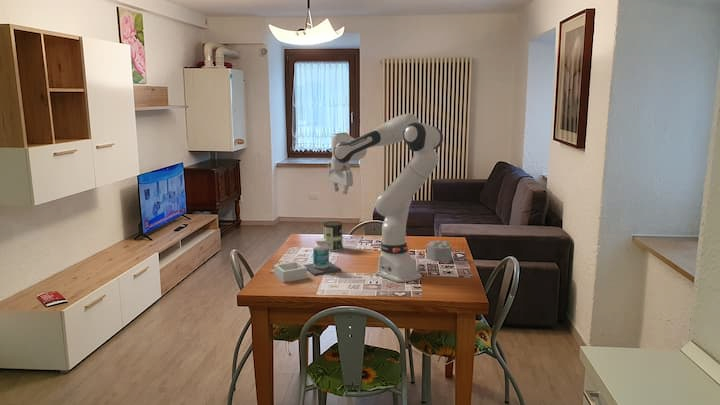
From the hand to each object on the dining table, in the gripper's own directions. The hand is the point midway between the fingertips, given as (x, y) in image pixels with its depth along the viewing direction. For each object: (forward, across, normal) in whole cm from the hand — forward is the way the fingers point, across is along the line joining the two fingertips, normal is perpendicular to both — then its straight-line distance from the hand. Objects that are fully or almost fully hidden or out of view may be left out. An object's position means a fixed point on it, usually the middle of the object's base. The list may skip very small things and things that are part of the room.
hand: (340, 192), depth 280 cm
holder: (+33, -17, +35) cm, 51 cm away
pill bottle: (+32, -14, +18) cm, 40 cm away
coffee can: (+33, +14, -2) cm, 36 cm away
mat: (+33, -14, +18) cm, 40 cm away
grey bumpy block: (+33, -29, -41) cm, 60 cm away
